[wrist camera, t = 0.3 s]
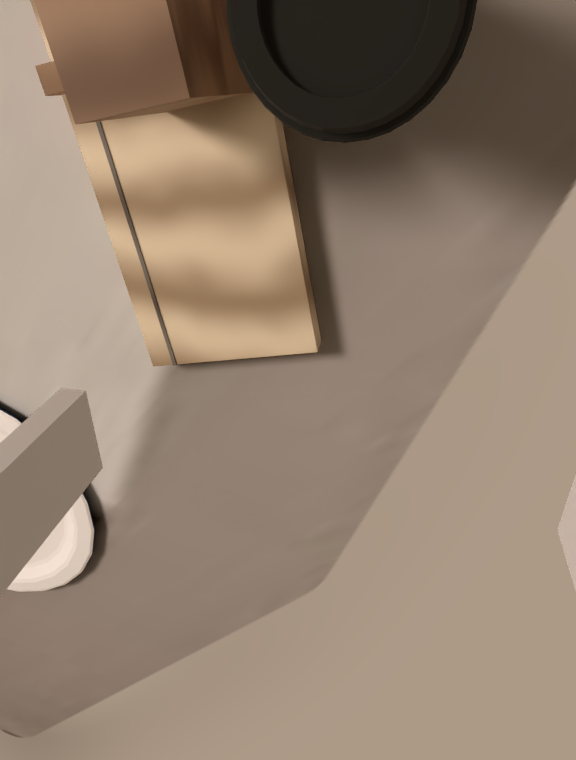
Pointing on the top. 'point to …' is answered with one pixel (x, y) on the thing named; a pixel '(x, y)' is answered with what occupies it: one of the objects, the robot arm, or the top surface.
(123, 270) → the board
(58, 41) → the brown box
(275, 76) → the coffee cup
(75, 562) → the plate
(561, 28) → the top surface
